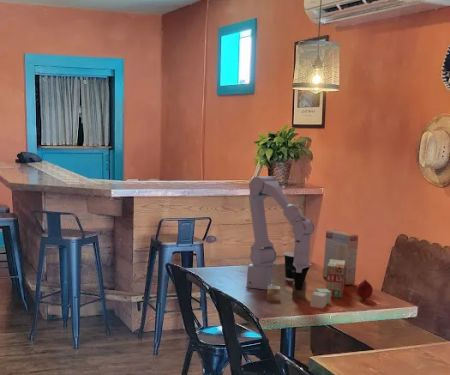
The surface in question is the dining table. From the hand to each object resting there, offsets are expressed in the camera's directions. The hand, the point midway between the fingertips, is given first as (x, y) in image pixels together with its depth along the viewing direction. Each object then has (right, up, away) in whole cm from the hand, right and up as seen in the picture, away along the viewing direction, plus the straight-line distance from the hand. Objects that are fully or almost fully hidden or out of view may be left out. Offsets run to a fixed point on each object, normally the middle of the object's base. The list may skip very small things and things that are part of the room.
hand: (299, 287), depth 231 cm
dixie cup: (0, -2, +28) cm, 28 cm away
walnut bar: (0, -4, 0) cm, 4 cm away
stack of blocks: (+16, -4, +14) cm, 22 cm away
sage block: (+8, -5, -3) cm, 10 cm away
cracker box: (+20, -2, +29) cm, 36 cm away
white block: (+6, -5, -8) cm, 11 cm away
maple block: (-10, -4, -2) cm, 11 cm away
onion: (+25, -5, +3) cm, 26 cm away
